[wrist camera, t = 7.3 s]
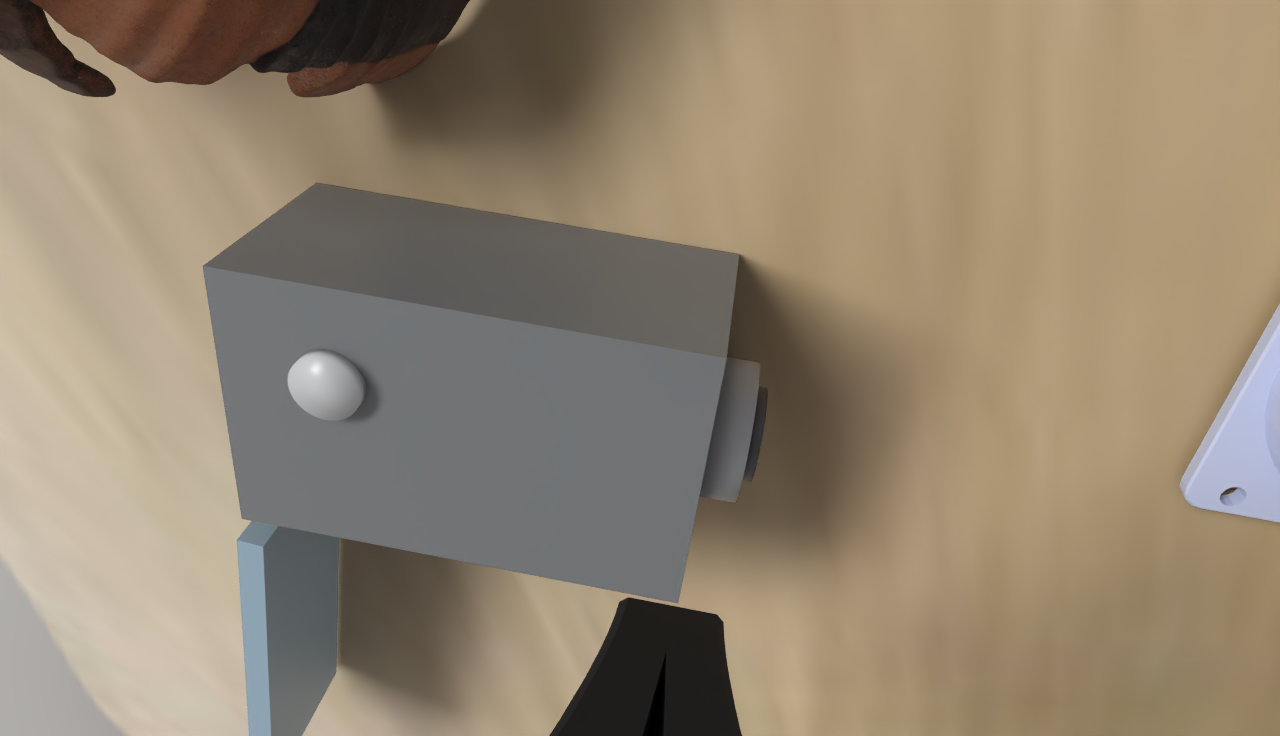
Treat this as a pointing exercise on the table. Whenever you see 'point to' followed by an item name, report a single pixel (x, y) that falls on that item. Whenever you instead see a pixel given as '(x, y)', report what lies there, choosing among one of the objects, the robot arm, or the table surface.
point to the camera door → (287, 624)
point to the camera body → (482, 386)
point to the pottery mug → (228, 39)
